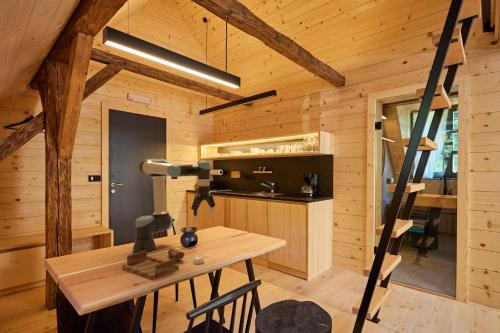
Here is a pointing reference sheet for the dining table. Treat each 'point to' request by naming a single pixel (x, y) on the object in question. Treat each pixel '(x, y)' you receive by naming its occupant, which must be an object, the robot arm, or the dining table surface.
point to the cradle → (149, 265)
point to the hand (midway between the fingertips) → (203, 218)
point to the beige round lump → (198, 260)
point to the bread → (176, 254)
